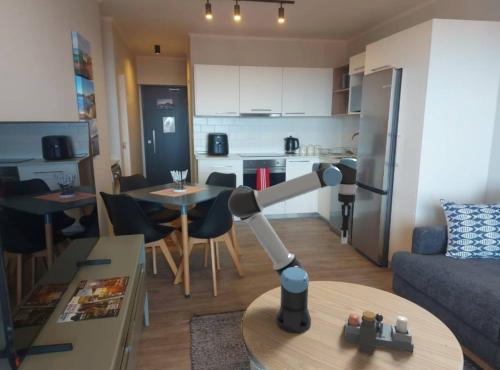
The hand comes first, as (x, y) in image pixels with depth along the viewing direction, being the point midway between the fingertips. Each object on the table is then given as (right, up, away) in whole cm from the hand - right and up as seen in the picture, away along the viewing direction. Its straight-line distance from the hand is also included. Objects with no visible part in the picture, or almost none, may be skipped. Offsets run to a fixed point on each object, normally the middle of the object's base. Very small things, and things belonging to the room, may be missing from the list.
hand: (344, 243), depth 153 cm
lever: (+9, -32, -16) cm, 37 cm away
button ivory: (+17, -31, -21) cm, 41 cm away
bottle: (+2, -37, -24) cm, 44 cm away
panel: (+9, -36, -16) cm, 40 cm away
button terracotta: (-1, -32, -16) cm, 36 cm away
